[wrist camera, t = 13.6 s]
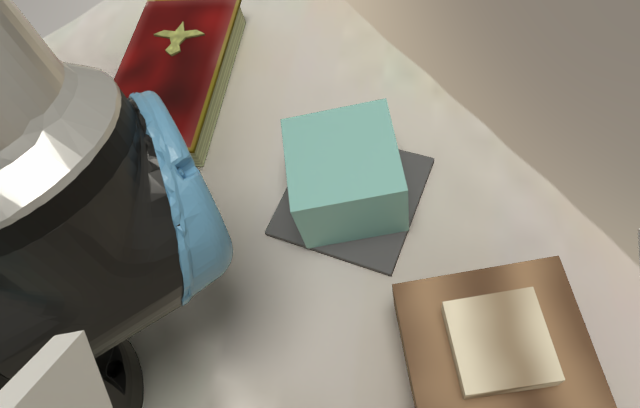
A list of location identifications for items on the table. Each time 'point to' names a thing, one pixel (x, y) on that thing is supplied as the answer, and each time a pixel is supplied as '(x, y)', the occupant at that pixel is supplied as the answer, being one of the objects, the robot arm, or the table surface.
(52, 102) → the robot arm
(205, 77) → the hardcover book
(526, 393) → the walnut box
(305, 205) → the mint green cube
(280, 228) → the mat
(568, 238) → the table surface
